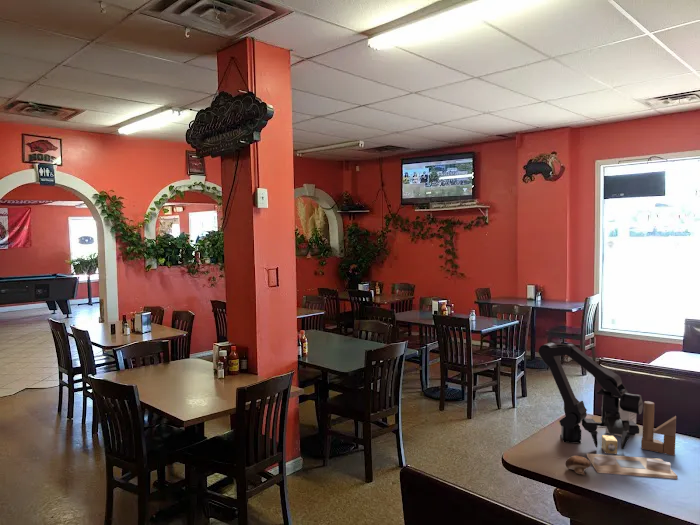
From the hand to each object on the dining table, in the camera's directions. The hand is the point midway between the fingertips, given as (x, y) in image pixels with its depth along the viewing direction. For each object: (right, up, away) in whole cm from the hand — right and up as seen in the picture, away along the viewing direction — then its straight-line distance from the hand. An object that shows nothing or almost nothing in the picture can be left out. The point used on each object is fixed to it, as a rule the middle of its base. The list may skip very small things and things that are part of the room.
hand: (609, 448), depth 194 cm
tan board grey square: (+1, -2, -13) cm, 13 cm away
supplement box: (+13, 0, +17) cm, 22 cm away
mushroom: (-19, -3, -17) cm, 26 cm away
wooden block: (+18, -1, 0) cm, 18 cm away
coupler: (0, -1, 0) cm, 1 cm away
